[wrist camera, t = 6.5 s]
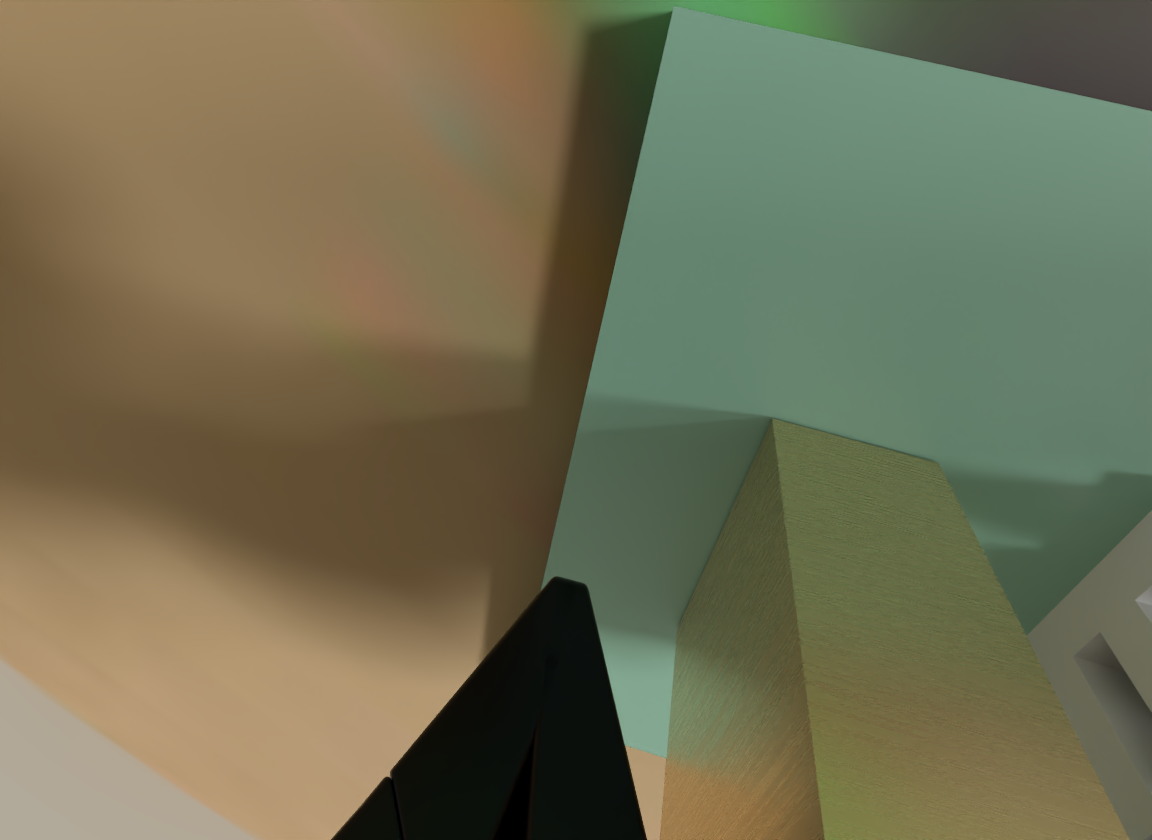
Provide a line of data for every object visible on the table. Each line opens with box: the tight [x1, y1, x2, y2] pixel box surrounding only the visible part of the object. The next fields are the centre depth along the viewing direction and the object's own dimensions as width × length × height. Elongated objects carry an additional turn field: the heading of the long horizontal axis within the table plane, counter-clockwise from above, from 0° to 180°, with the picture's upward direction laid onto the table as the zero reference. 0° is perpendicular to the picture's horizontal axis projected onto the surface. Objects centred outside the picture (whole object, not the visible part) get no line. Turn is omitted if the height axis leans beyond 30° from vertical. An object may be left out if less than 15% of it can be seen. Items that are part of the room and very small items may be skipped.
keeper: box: [660, 418, 1130, 840], centre depth 7 cm, size 5×5×6 cm
